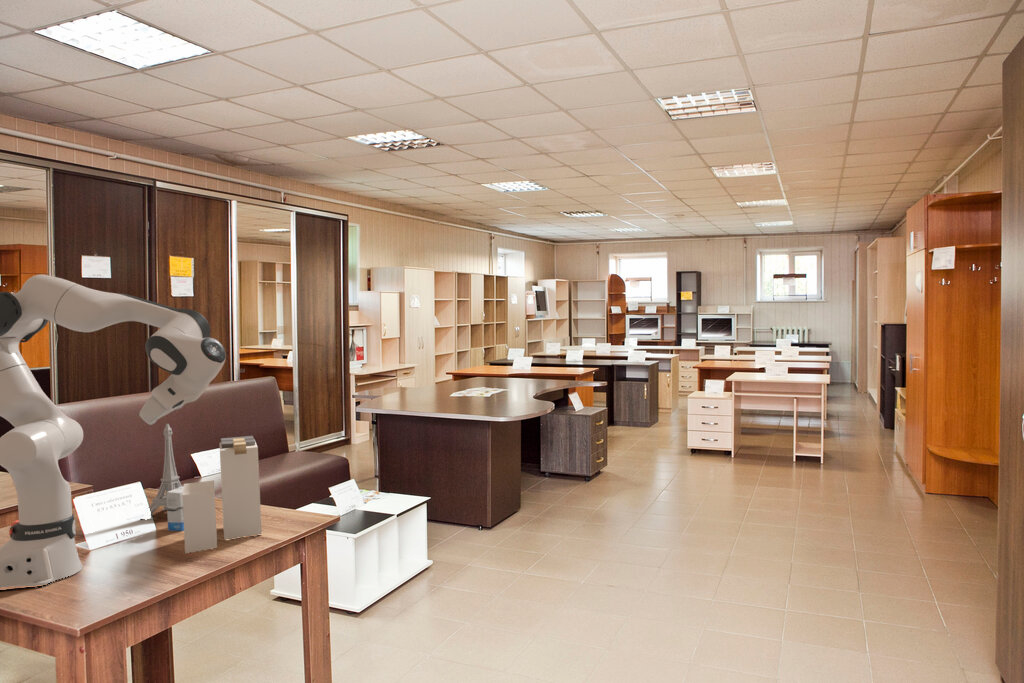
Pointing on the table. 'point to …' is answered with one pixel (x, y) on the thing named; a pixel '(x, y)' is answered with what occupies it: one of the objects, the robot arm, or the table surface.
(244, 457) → the tall stand
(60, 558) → the robot arm
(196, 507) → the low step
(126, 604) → the table surface
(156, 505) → the eiffel tower
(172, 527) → the ink box
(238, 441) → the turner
